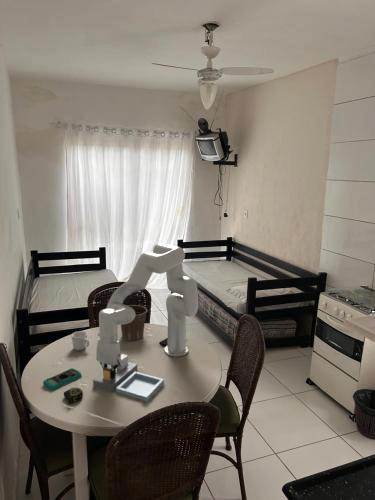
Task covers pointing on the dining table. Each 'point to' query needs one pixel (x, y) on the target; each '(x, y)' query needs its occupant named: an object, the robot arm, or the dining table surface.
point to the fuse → (123, 362)
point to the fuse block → (115, 378)
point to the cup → (80, 340)
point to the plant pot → (135, 324)
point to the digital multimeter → (61, 379)
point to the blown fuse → (107, 373)
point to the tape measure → (73, 395)
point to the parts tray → (140, 386)
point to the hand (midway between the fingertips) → (109, 375)
